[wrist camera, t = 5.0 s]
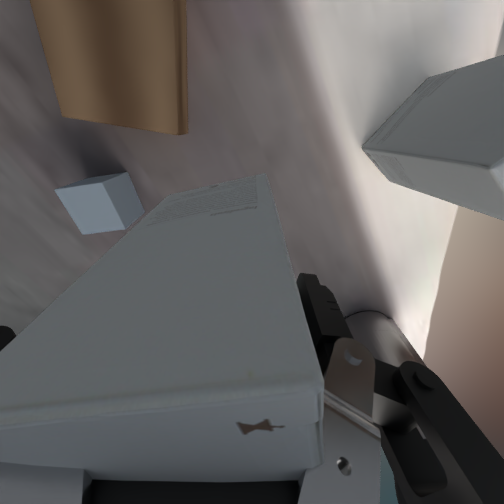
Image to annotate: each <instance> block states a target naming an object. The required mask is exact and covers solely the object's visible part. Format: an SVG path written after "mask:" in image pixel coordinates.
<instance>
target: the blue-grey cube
mask: <svg viewBox="0 0 504 504" xmlns="http://www.w3.org/2000/svg"><path fill="white" fill-rule="evenodd" d="M54 191H55V192H56V194H57V195H58V197H59V198H60V200H61V202H62V203H63V205H64V206H65V208H66V209H67V211H68V212H69V214H70V216H71V217H72V219H73V220H74V222H75V223H76V225H77V227H78V228H79V230H80V231H81V233H82V234H83V235H84V234H92V233H99V232H107V231H115V230H122V229H126V228H127V227H128V226H130V225H131V224H132V223H133V222H134V221H135V220H137V219H138V218H139V217H140V216H141V215H142V214H144V213H145V211H144V209H143V207H142V204H141V202H140V200H139V197H138V195H137V193H136V190H135V188H134V186H133V183H132V181H131V179H130V177H129V174H128V172H124V173H117V174H111V175H104V176H98V177H91V178H86V179H83V180H80V181H77V182H75V183H72V184H69V185H66V186H63V187H60V188H57V189H55V190H54Z"/></svg>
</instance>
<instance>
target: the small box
mask: <svg viewBox="0 0 504 504" xmlns="http://www.w3.org/2000/svg"><path fill="white" fill-rule="evenodd" d="M323 413H324V379H323V376H322V372H321V369H320V365H319V362H318V358H317V355H316V352H315V348H314V345H313V341H312V338H311V334H310V331H309V328H308V324H307V321H306V317H305V313H304V310H303V306H302V302H301V298H300V294H299V291H298V287H297V283H296V280H295V276H294V273H293V269H292V265H291V262H290V258H289V254H288V250H287V247H286V243H285V239H284V235H283V231H282V227H281V223H280V220H279V216H278V212H277V208H276V205H275V201H274V198H273V195H272V191H271V188H270V184H269V181H268V178H267V175H266V174H265V173H263V174H259V175H255V176H250V177H246V178H241V179H237V180H232V181H228V182H224V183H219V184H215V185H210V186H206V187H201V188H197V189H193V190H188V191H184V192H180V193H175V194H170V195H168V196H167V197H166V198H165V199H164V200H163V201H162V202H161V203H159V204H158V205H157V206H156V207H155V208H154V209H153V210H152V211H151V212H150V213H149V214H147V215H146V216H145V217H144V218H143V219H142V220H141V221H140V222H139V223H138V224H137V225H136V226H134V227H133V228H132V229H131V230H130V231H129V232H128V233H127V234H126V235H125V236H124V237H123V238H122V239H121V240H119V241H118V242H117V243H116V244H115V245H114V246H113V247H112V248H111V249H110V250H109V251H108V252H107V253H106V254H105V255H104V256H102V257H101V258H100V259H99V260H98V261H97V262H96V263H95V264H94V265H93V266H92V267H90V268H89V269H88V270H87V271H86V272H85V273H84V274H83V275H82V276H81V277H80V278H79V279H78V280H77V281H75V282H74V283H73V284H72V285H71V286H70V287H69V288H68V289H67V290H65V291H64V292H63V293H62V294H61V295H60V296H59V297H58V298H57V299H56V300H55V301H53V302H52V303H51V304H50V305H49V306H48V307H47V308H46V309H45V310H44V311H43V312H42V313H41V314H40V315H39V316H38V317H37V318H36V319H35V320H34V321H33V322H31V323H30V324H29V325H28V326H27V327H26V328H25V329H24V330H23V331H22V332H21V333H20V334H19V335H18V336H16V337H15V338H14V339H13V340H12V341H11V342H10V343H9V344H8V345H7V346H6V347H5V348H4V349H2V350H1V351H0V462H7V463H16V464H25V465H35V466H50V467H65V468H80V469H84V470H85V471H86V472H87V473H88V474H89V475H90V476H91V477H92V479H97V480H121V481H179V482H256V481H286V480H299V477H300V476H301V475H302V473H303V472H304V471H305V470H306V468H313V467H316V466H318V465H320V464H323V463H325V456H324V445H323V427H322V420H323Z"/></svg>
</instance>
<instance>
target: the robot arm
mask: <svg viewBox="0 0 504 504" xmlns="http://www.w3.org/2000/svg"><path fill="white" fill-rule="evenodd" d="M296 283H297V287H298V291H299V294H300V298H301V302H302V306H303V310H304V313H305V317H306V321H307V324H308V328H309V331H310V334H311V338H312V341H313V345H314V348H315V352H316V355H317V358H318V362H319V365H320V369H321V372H322V376H323V379H324V413H323V420H322V427H323V445H324V456H325V463H323V464H320V465H318V466H316V467H313V468H306V470H305V471H304V472H303V473H302V475H301V476H300V477H299V480H286V481H256V482H179V481H121V480H97V479H92V477H91V476H90V475H89V474H88V473H87V472H86V471H85V470H84V469H80V468H65V467H50V466H35V465H25V464H16V463H7V462H0V504H379V503H380V502H379V501H380V462H381V446H382V448H383V451H384V453H385V455H386V457H387V460H388V462H389V464H390V467H391V469H392V471H393V474H394V480H395V489H396V495H397V500H398V503H399V504H504V459H503V458H502V457H501V456H500V454H499V453H498V452H497V450H496V449H495V448H494V447H493V445H492V444H491V443H490V442H489V440H488V439H487V438H486V437H485V435H484V434H483V433H482V431H481V430H480V429H479V427H478V426H477V425H476V424H475V422H474V421H473V420H472V419H471V417H470V416H469V415H468V414H467V412H466V411H465V410H464V408H463V407H462V406H461V405H460V403H459V402H458V401H457V400H456V398H455V397H454V396H453V394H452V393H451V392H450V391H449V389H448V388H447V387H446V385H445V384H444V383H443V382H442V380H441V379H440V378H439V377H438V376H437V375H436V374H435V373H434V372H432V371H431V370H430V369H429V368H427V366H426V365H425V364H424V362H423V361H422V359H421V358H420V356H419V355H418V354H417V352H416V351H415V349H414V348H413V347H412V345H411V344H410V342H409V341H408V340H407V338H406V337H405V335H404V334H403V333H402V331H401V330H400V328H399V327H398V326H397V324H396V323H395V321H394V320H393V319H388V318H387V317H386V316H385V315H383V314H382V313H379V312H374V311H365V312H360V313H356V314H354V315H351V316H349V317H348V318H346V319H344V317H343V314H342V312H341V311H340V308H339V306H338V304H337V301H336V299H335V297H334V295H333V293H332V292H331V291H330V290H329V289H328V288H327V287H326V286H323V285H320V283H319V280H318V278H317V276H316V275H315V274H306V273H300V274H299V276H298V279H297V282H296ZM15 337H16V334H15V333H14V332H13V330H12V329H11V328H9V327H7V326H0V351H1V350H2V349H4V348H5V347H6V346H7V345H8V344H9V343H10V342H11V341H12V340H13V339H14V338H15Z"/></svg>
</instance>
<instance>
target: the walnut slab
mask: <svg viewBox="0 0 504 504" xmlns="http://www.w3.org/2000/svg"><path fill="white" fill-rule="evenodd" d="M30 3H31V7H32V10H33V14H34V17H35V21H36V25H37V28H38V32H39V35H40V39H41V42H42V46H43V49H44V53H45V56H46V60H47V64H48V67H49V71H50V74H51V78H52V81H53V85H54V88H55V92H56V95H57V99H58V102H59V106H60V110H61V113H62V117H68V118H74V119H80V120H86V121H92V122H99V123H105V124H111V125H117V126H123V127H130V128H136V129H142V130H148V131H154V132H160V133H167V134H173V135H182V134H187V133H188V93H187V22H186V0H30Z"/></svg>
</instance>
